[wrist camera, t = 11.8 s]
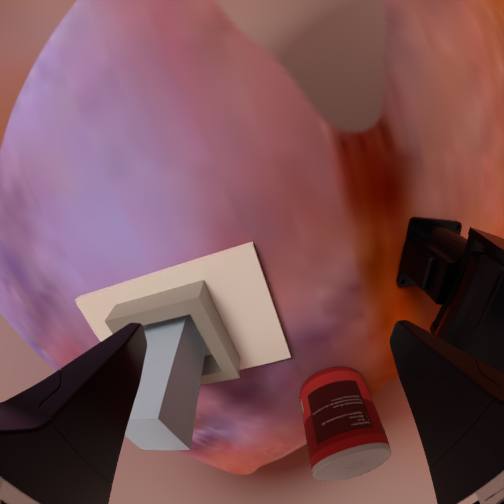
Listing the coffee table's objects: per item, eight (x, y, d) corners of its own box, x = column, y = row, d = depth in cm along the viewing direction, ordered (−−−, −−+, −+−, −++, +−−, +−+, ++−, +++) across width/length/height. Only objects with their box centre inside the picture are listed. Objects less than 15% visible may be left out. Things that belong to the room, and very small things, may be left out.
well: (252, 241, 21) (253, 259, 18) (290, 351, 26) (294, 376, 23) (78, 296, 23) (62, 315, 20) (135, 380, 28) (127, 402, 25)
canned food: (331, 411, 30) (348, 482, 20) (283, 395, 29) (294, 479, 18) (375, 376, 28) (406, 450, 18) (330, 355, 26) (359, 444, 16)
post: (188, 311, 23) (157, 418, 13) (206, 345, 24) (190, 449, 14) (149, 321, 23) (107, 419, 13) (169, 353, 25) (141, 449, 15)
